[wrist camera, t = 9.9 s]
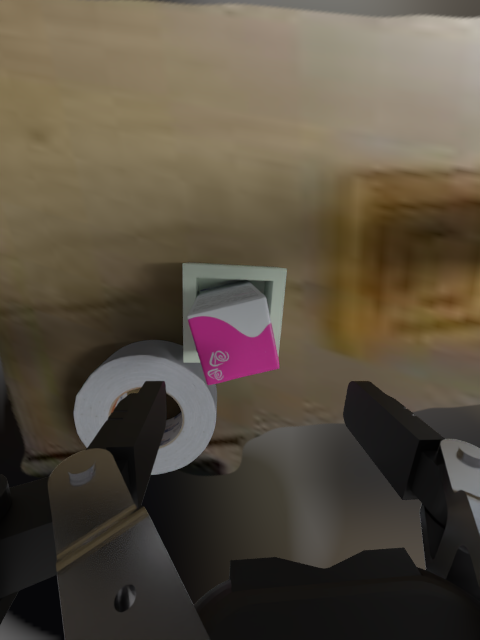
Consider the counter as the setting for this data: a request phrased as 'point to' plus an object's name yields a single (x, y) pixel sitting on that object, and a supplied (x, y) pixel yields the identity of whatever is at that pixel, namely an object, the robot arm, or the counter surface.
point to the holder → (215, 275)
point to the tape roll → (181, 384)
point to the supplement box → (232, 332)
